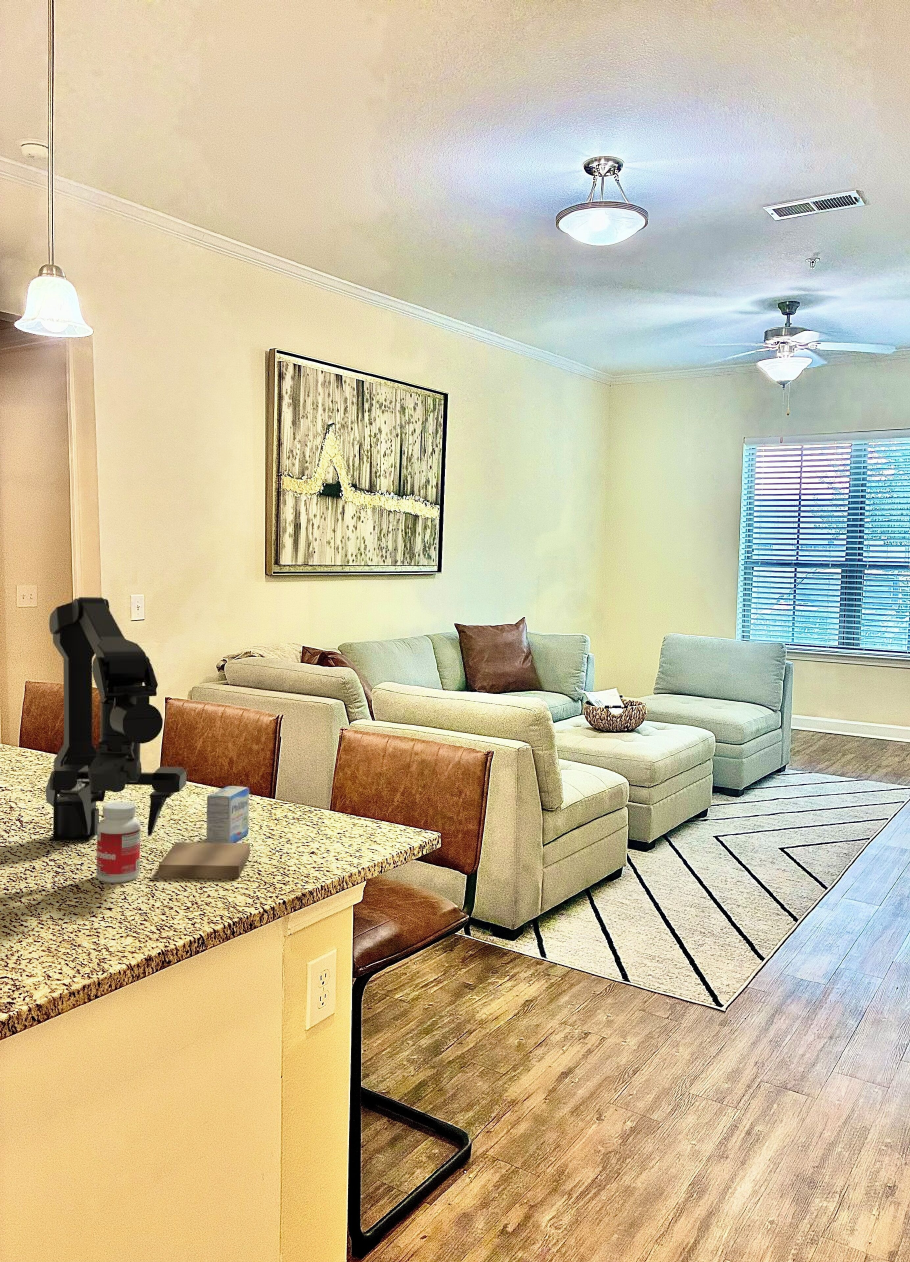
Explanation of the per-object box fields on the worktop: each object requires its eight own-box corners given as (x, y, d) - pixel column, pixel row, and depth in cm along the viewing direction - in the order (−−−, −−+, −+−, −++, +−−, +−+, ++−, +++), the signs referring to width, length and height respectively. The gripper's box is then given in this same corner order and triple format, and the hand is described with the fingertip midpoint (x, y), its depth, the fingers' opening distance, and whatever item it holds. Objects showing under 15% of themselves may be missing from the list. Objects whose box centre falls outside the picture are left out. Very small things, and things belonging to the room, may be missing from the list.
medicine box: (229, 847, 161) (230, 796, 160) (205, 844, 162) (206, 794, 161) (248, 835, 169) (250, 787, 168) (225, 832, 170) (226, 784, 169)
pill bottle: (88, 877, 143) (89, 804, 142) (125, 868, 148) (126, 798, 147) (110, 887, 139) (111, 812, 138) (147, 877, 144) (148, 806, 143)
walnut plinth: (158, 877, 144) (158, 864, 144) (175, 854, 156) (175, 842, 156) (238, 878, 145) (239, 865, 145) (249, 855, 157) (249, 843, 157)
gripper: (37, 740, 133) (35, 849, 134) (172, 743, 135) (170, 851, 136) (63, 727, 144) (62, 828, 145) (188, 730, 146) (185, 830, 147)
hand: (118, 834), depth 143 cm, fingers open, 9 cm apart
